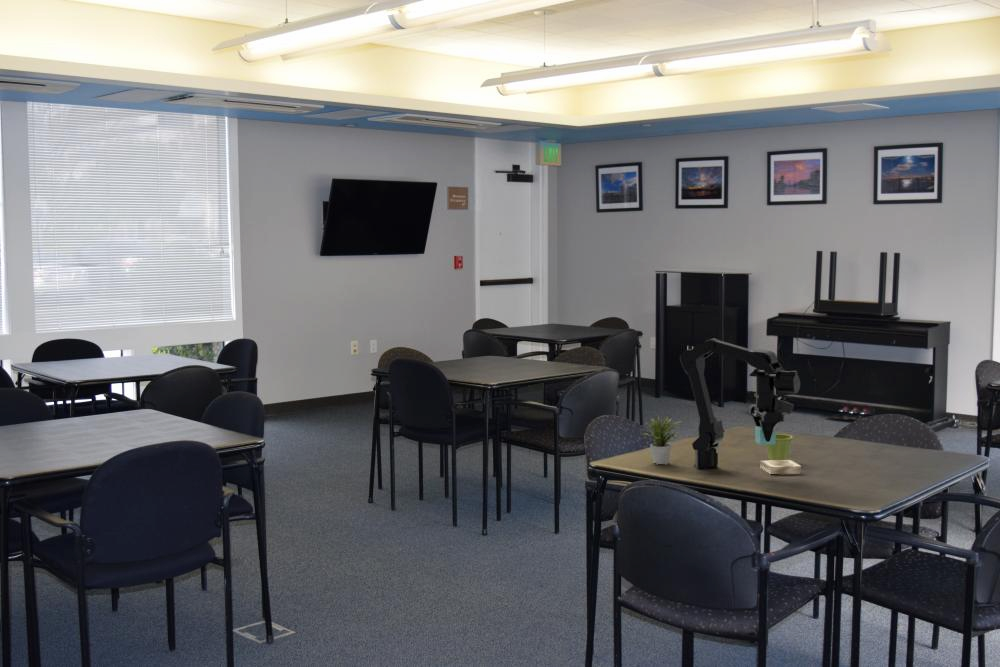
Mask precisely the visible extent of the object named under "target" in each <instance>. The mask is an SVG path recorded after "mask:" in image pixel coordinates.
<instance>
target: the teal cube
mask: <svg viewBox="0 0 1000 667" xmlns="http://www.w3.org/2000/svg"><path fill="white" fill-rule="evenodd" d="M754 429H755V430H754V432H755V433H754V434H755V435H754V436H755V437H754V438H755V441H754V442H755V443H756V444H758V445H760V446H767V445H774V444H776V434H777V429H776V428H775V427H774V429H773V432H772V435H771V439H770V441H769V442H767V441H766V439H765V437H764V434H763V431H762V428H761V426H756V425H755V428H754Z"/></svg>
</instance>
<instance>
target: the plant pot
mask: <svg viewBox="0 0 1000 667" xmlns="http://www.w3.org/2000/svg"><path fill="white" fill-rule="evenodd" d="M792 439H793V435H789V434H782V433H776V444H774V445H766V450H767V458H768V459H767V460H789V454H790V453H789V452H790V446H791V443H792Z"/></svg>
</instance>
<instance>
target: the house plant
mask: <svg viewBox="0 0 1000 667" xmlns="http://www.w3.org/2000/svg"><path fill="white" fill-rule="evenodd" d="M650 420H651V425H650V424H649V423H648V422H646V421H644V423H645V424H646V425H647V426H648V427H649V428H650V430H651V432H652V433H651V434H650V433H648V432H644V433H642V435H645V436H649V437H651V438H652V439H653V441H654V442H653V443H650V445H649V446H650V450H651V456H652V461H653V462H654V463H657V464H656V465H658V464H665V465H668V463H669V464H670V457H671V453H672V452H671V450H672V444H671V443H668V441H670V439H671V438H674V439H678V438H677V437H678V435H676V434H677V433H678V431H675V432H674V433H672V432H671V431H672V430H674V429H677V428H680V426H678V425H679V423H682V422H683V420H682V421H681V420H680V421H677V422H672V423H670V422H671V421H672V418H670V419H669V415H668V416H666V418H665V420H664V422H663V424H662V421H661V420H660V416H659V415H657V420H658V421H657V420H654V418H652V417H651V419H650ZM654 463H653V464H654Z"/></svg>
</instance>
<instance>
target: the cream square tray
mask: <svg viewBox="0 0 1000 667" xmlns="http://www.w3.org/2000/svg"><path fill="white" fill-rule="evenodd" d="M759 464H760V465H759V466H760V467H759V468H760V469H761V468H762V469H763V470H762V469H761V470H762V471H764V470H765V471H766V473H767V472H768V473H769V475H770V474H780V475H801V474H802V465H800V464H799V463H797V462H795V461H794V460H792V459H788V460H769V459H767V460H760V461H759ZM765 471H764V472H765ZM768 473H767V474H768Z"/></svg>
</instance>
